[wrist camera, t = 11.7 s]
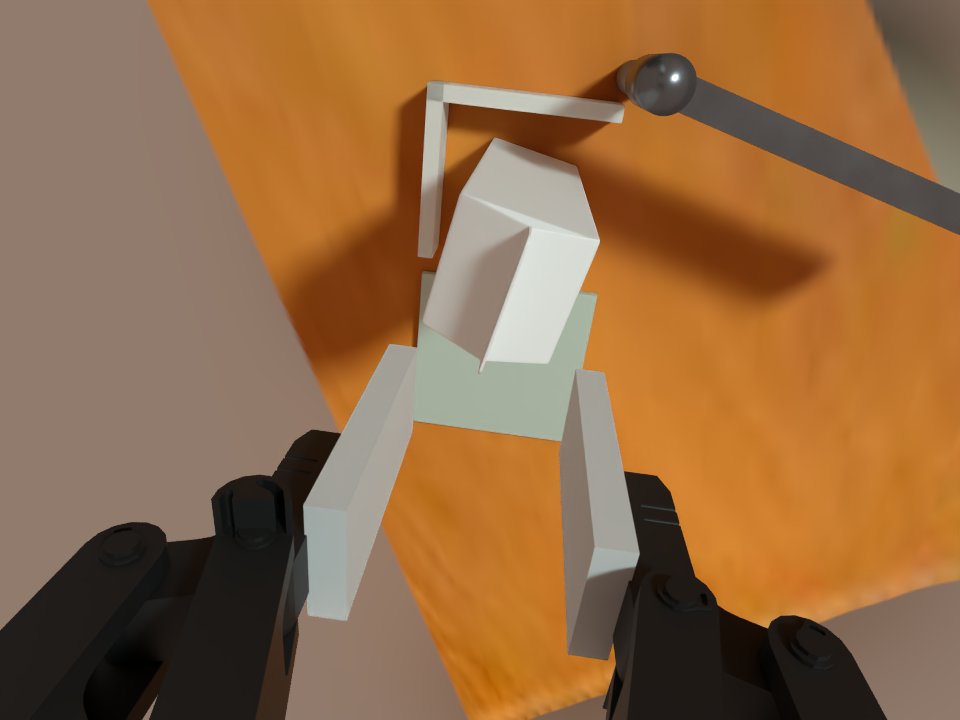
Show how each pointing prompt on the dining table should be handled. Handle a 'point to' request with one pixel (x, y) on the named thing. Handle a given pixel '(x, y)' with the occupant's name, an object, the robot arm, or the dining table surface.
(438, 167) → the bracket
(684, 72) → the dark grey metallic bar
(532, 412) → the mat
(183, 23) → the dining table surface
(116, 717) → the robot arm
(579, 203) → the milk
